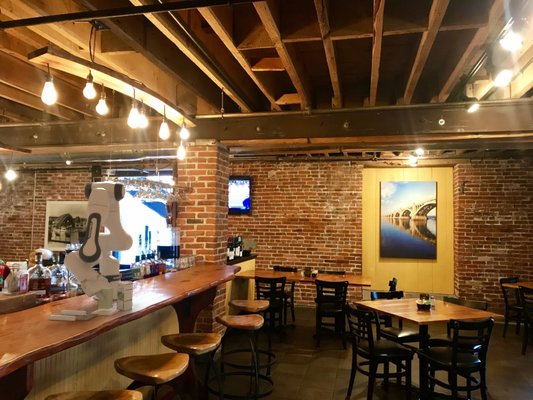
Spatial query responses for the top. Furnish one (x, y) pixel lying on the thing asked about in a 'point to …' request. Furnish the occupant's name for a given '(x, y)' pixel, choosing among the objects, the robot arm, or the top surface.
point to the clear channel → (73, 318)
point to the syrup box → (124, 295)
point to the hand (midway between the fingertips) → (107, 298)
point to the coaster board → (105, 312)
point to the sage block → (109, 298)
